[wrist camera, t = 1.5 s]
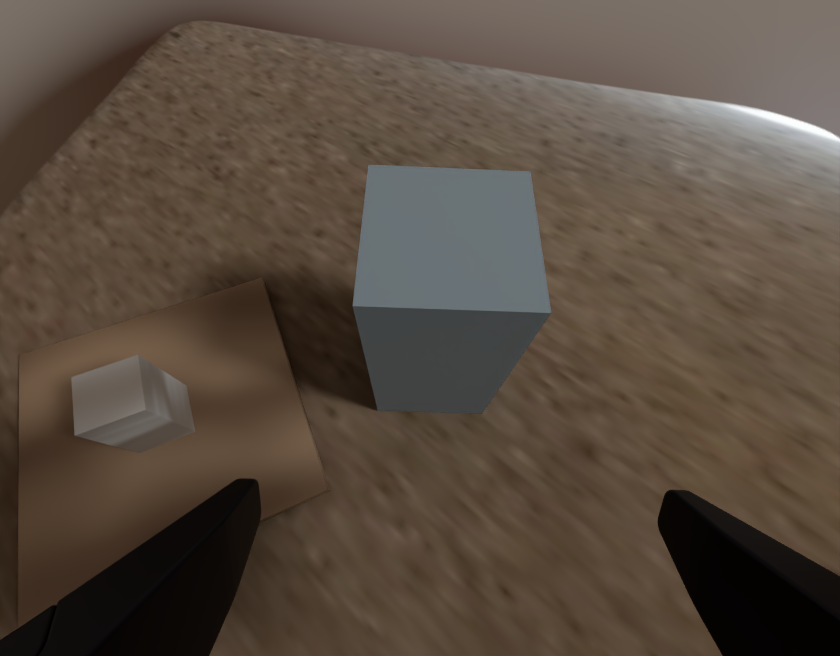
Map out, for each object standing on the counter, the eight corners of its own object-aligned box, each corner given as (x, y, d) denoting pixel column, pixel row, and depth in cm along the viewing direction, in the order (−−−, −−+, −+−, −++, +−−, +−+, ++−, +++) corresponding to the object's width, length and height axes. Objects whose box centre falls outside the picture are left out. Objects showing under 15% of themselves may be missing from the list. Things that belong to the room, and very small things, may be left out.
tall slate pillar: (481, 413, 23) (551, 313, 12) (377, 410, 22) (352, 305, 12) (477, 321, 25) (530, 171, 15) (384, 318, 25) (368, 164, 14)
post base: (330, 490, 20) (308, 480, 16) (29, 626, 18) (-103, 661, 13) (264, 282, 26) (234, 231, 22) (28, 358, 23) (-65, 318, 19)
